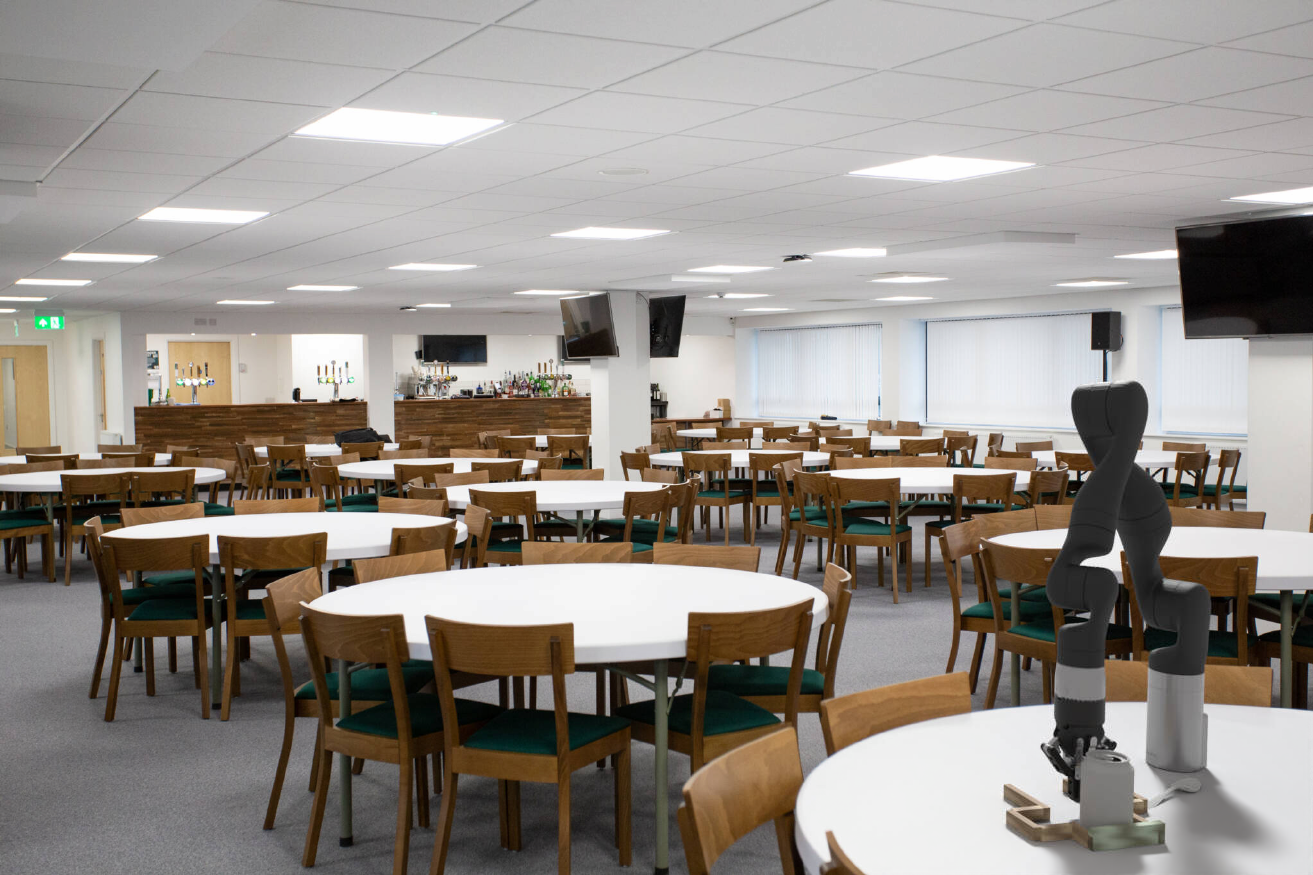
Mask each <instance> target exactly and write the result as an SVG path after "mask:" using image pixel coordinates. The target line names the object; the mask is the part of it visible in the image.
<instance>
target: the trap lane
mask: <svg viewBox="0 0 1313 875" xmlns="http://www.w3.org/2000/svg"><path fill="white" fill-rule="evenodd" d="M1067 788H1068V777H1067V778H1062V789H1061V790H1062V792H1064V793H1066V794H1067V790H1068V789H1067ZM1003 797H1004V798H1006V799H1007V800H1009V801H1011V802H1012V803H1014V805H1015V804H1016V805H1017V806H1018V807H1011V808H1010V809H1007V810H1006V814H1005V815H1006V816H1005V820H1006V821H1005V824H1006V825H1008V826H1010V827H1011V828H1013V829H1014V830H1016V831H1018V832H1019V833H1021V835H1024V836H1025V837H1026V838H1028V839H1029V840H1031V841H1033V842H1036V841H1041V842H1042V843H1046V842H1055V841H1063V840H1064V841H1066V840H1073V841H1075V842H1077V843H1078V844H1080V845H1082V846H1083V847H1085V848H1087V849H1089V850H1090V851H1091V852H1100V851H1108V850H1117V849H1118V850H1119V849H1127V848H1134V847H1135V848H1136V847H1144V846H1152V845H1161V844H1165V843H1166V822H1164V821H1162V820H1159V819H1158V820H1151V821H1150V820H1148V819H1146V818H1144V817H1142V816H1140V815H1144V814H1145V813H1147V812H1148V810H1149V809H1148V801H1149V799H1148V798H1146V797H1144V796H1142V795H1140V794H1139V793H1136V792H1134V804H1133V823H1130V824H1120V825H1111V826H1102V827H1092V828H1088V830H1087V829H1086V828H1084V827H1082V826H1081V825H1080V823H1077V822H1076V821H1070V822H1060V823H1050V821H1051V806H1049V805H1047V804H1045V803H1043V802H1042V801H1040V800H1039V799H1037V798H1035V797H1033V796H1032V795H1030V794H1029V793H1026V792H1025V791H1023V790H1022V789H1020V788H1018V787H1017V786H1015V785H1013V784H1012V783H1003Z"/></svg>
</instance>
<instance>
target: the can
mask: <svg viewBox="0 0 1313 875" xmlns="http://www.w3.org/2000/svg"><path fill="white" fill-rule="evenodd" d="M1086 756H1087V757H1086V758H1085V759H1084V760H1083V761H1082V762H1081V785H1080V802H1079V825H1081V826H1082V827H1084V828H1086V829H1087V830H1088V828H1092V827H1102V826H1111V825H1120V824H1130V823H1133V804H1134V793H1135V768H1134V766H1133V765H1132V763H1131V762H1130V761H1131V759H1130V756H1128V755H1126V754H1125V753H1122V752H1119V751H1115V750H1114V751H1110V750H1091V751H1088V752H1087V753H1086Z"/></svg>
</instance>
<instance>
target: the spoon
mask: <svg viewBox="0 0 1313 875" xmlns="http://www.w3.org/2000/svg"><path fill="white" fill-rule="evenodd" d="M1201 786H1202V785H1201V782H1200V780H1199V779H1198V778H1196V777H1188V778H1187V777H1186V778H1183V779H1180V780H1178V781H1176V782H1172V783H1171V784H1170V788H1168V789H1166V790H1165V791H1163V792H1162V793H1160V794H1159V795H1157V796H1154V797H1152V798H1151V799H1148V810H1149V809H1153V808H1154V809H1155V807H1157V806H1158V805H1159V804H1160V803H1161V802H1163V800H1164V799H1165V798H1166V797H1167V796H1168V795H1170V794H1171V793H1172V792H1174V791H1175V790H1178V791H1180V792H1186V793H1189V792H1190V793H1195V792H1198V791H1199V790H1200V788H1201Z"/></svg>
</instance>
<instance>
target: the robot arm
mask: <svg viewBox="0 0 1313 875" xmlns="http://www.w3.org/2000/svg"><path fill="white" fill-rule="evenodd" d="M1070 409H1071V410H1070V411H1071V415H1072V419H1073V423H1074V426H1075V428H1076V431H1077V433H1078V435H1079V438H1080V440H1081V442H1082V445H1083V446H1084V448H1085V451H1086V452H1087V454H1088V457H1089V459H1090V461H1091V463H1092V466H1093V467H1094V470H1093V471H1092V473H1091V474H1090V475H1089V477H1088V478H1086V480H1085V481H1084V483H1083V484H1082V485H1081V487H1080V488H1079V490H1078V491H1077V494H1076V496H1075V497H1074V500H1073V504H1072V508H1071V511H1070V519H1069V523H1068V524H1069V525H1068V530H1067V534H1066V538H1065V540H1064V542H1063V545H1062V546H1061V549H1060V551H1059V553H1058V555H1057V557H1056V559H1055V560H1054V562H1053V564H1052V566H1051V568H1050V570H1049V572H1048V575H1047V578H1046V582H1045V594H1046V597H1047V599H1048V601H1049V602H1050V603H1051V605H1053V606H1054V607H1056V608H1059V609H1067V610H1074V611H1083V612H1090V615H1089V618H1088V620H1087V621H1085V622H1078V623H1076V622H1075V623H1067V624H1063V625H1061V626H1060V627H1059V628H1058V631H1057V637H1056V644H1057V645H1056V666H1055V673H1054V691H1053V692H1054V695H1053V696H1054V700H1053V702H1054V704H1053V705H1054V706H1053V717H1054V721H1055V728H1054V730H1053V734H1052V736H1053V737H1052V738H1051V739H1050V740H1049V741H1048V742H1047V743H1046V742H1042V743H1040V750H1041V751H1042V753H1043V754H1044V755H1045V756H1046V758H1047V760H1048V761H1049V763H1050V764H1051V765H1052V767H1053V768H1054V769H1055V771H1056V772H1057V773H1059V774H1062V775H1064V776H1065V777H1067V778H1068V788H1067V789H1068V790H1067V793H1066V794H1067V796H1068V797H1069V799H1070V800H1071V801H1073V802H1075V803H1076V804H1077V803H1079V804H1080V785H1081V762H1082V761H1083V760H1084V759H1085V758H1086V757H1087V756H1086V753H1087V752H1088V751H1091V750H1110V751H1115V750H1116V748H1117V746H1118V744H1117V741H1114V740H1113V739H1111V738H1109V737H1108V736H1107V735H1105V734H1106V732H1105V729H1104V724H1105V722H1106V697H1107V696H1106V695H1107V694H1106V692H1107V691H1106V688H1107V679H1106V670H1105V661H1106V660H1105V659H1106V655H1105V654H1106V651H1105V650H1106V640H1107V639H1106V638H1107V637H1106V636H1107V633H1108V628H1109V624H1110V620H1111V616H1112V615H1113V614H1112V613H1113V610H1114V608H1115V605H1116V602H1117V599H1118V598H1119V596H1118V595H1119V591H1120V586H1119V584H1120V583H1119V580H1118V578H1117V576H1116V574H1115V573H1114V572H1113V571H1112V570H1111V569H1109V568H1107V567H1102V566H1095V565H1093V566H1090V565H1082V563H1083V562H1084V561H1086V560H1089V559H1093V558H1099V557H1100V558H1101V557H1104V556H1108V555H1109V554H1110V553H1112V550H1113V549H1114V546H1115V538H1116V533H1117V534H1118V537H1119V539H1120V542H1121V546H1122V548H1123V551H1124V554H1125V557H1126V561H1127V564H1128V568H1129V571H1130V575H1131V580H1132V584H1133V589H1134V594H1135V597H1136V603H1137V606H1138V609H1139V612H1140V616H1141V618H1142V619H1143V620H1144V622H1145V624H1146V625H1147V626H1150V627H1151V628H1155V629H1157V630H1163V631H1169V632H1173V633H1174V632H1175V633H1177V639H1176V643H1175V644H1173V645H1171V646H1166V647H1160V648H1155V649H1153V650H1151V651H1150V652H1149V653H1148V658H1147V659H1148V660H1147V664H1148V665H1147V666H1148V667H1147V699H1146V733H1145V734H1146V735H1145V736H1146V738H1145V739H1146V740H1145V761H1146V762H1147V763H1148V764H1149V765H1151V766H1153V767H1156V768H1158V769H1162V770H1166V771H1172V772H1183V773H1187V772H1188V773H1189V772H1196V771H1199V770H1202V768H1206V767H1208V765H1207V764H1208V740H1209V739H1208V736H1209V735H1208V732H1209V731H1208V730H1209V715H1208V714H1207V713H1206V712H1205V711H1204V710H1205V707H1204V704H1205V701H1204V700H1205V675H1206V674H1205V671H1206V670H1205V669H1206V668H1205V667H1206V666H1205V665H1206V661H1207V657H1208V651H1209V636H1210V626H1211V618H1212V616H1211V613H1212V601H1211V600H1212V599H1211V595H1210V593H1209V590H1208V589H1207V587H1206V586H1205V585H1204V584H1201V583H1198V582H1191V581H1185V580H1178V579H1171V578H1167V577H1166V576H1164V573H1163V572H1162V569H1161V565H1160V560H1159V558H1160V556H1161V553H1162V551H1163V549H1164V547H1165V546H1166V543H1167V541H1168V540H1169V538H1170V535H1171V532H1172V529H1173V518H1172V513H1171V511H1170V507H1169V504H1168V501H1167V498H1166V494H1165V492H1164V491H1163V488H1162V486H1161V485H1160V484H1159V483H1158V481H1157V480H1156V479H1155V478H1154V477H1153V476H1152V475H1151V474H1150V473H1148V472H1147V471H1146V470H1145V469H1144V468H1143V467H1142V466H1140V465H1139V464H1137V463H1136V462H1135V460H1136V458H1137V455H1138V451H1139V450H1140V449H1139V448H1140V445H1141V442H1142V439H1143V438H1144V437H1143V435H1144V433H1145V430H1146V426H1147V422H1148V417H1149V399H1148V395H1147V392H1146V390H1145V388H1144V387H1143V385H1142V384H1141V383H1140V382H1138V381H1136V380H1114V381H1101V382H1100V381H1099V382H1090V383H1085V384H1080V385H1079V386H1077V387H1076V388H1075V389H1074V390H1073V392H1072V395H1071V399H1070ZM1061 753H1062V755H1061Z"/></svg>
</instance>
